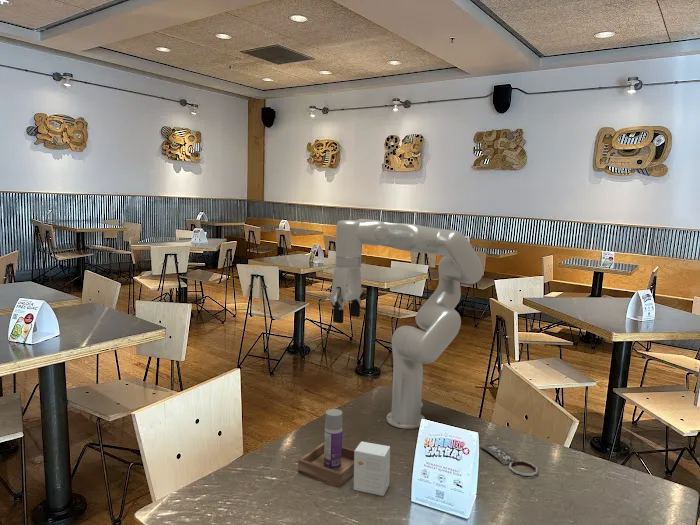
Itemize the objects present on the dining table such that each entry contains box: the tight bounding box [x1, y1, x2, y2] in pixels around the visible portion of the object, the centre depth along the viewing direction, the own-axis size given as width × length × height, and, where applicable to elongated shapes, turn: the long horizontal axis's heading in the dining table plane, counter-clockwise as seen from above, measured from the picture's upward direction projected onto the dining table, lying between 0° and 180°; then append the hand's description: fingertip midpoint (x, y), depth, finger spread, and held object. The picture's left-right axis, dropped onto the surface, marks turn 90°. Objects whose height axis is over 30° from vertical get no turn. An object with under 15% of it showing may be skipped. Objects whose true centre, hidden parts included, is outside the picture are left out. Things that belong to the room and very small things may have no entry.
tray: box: [297, 441, 355, 488], centre depth 139 cm, size 13×13×4 cm
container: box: [324, 408, 343, 470], centre depth 138 cm, size 5×5×15 cm
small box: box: [353, 441, 391, 497], centre depth 130 cm, size 8×6×10 cm
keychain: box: [479, 443, 539, 479], centre depth 146 cm, size 8×19×2 cm, turn 23°
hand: (346, 319), depth 155 cm, fingers open, 9 cm apart
